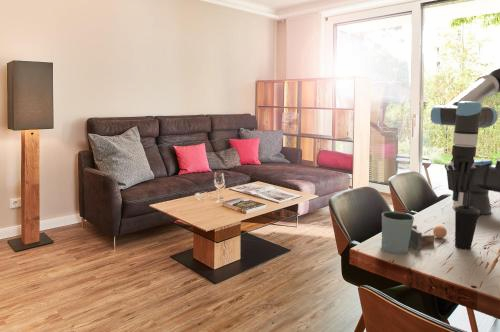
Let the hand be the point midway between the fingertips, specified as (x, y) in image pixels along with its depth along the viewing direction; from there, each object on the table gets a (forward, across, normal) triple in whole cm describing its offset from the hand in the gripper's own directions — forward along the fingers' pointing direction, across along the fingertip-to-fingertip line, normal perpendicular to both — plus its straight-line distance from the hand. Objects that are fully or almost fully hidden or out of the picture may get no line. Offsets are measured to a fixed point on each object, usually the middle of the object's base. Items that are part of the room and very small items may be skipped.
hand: (457, 209), depth 145 cm
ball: (+8, +6, 0) cm, 10 cm away
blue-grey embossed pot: (+11, +28, +6) cm, 31 cm away
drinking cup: (+11, +4, +9) cm, 15 cm away
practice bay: (+11, +17, +1) cm, 20 cm away
